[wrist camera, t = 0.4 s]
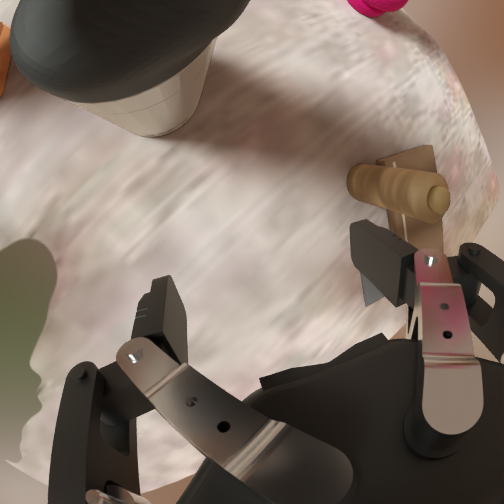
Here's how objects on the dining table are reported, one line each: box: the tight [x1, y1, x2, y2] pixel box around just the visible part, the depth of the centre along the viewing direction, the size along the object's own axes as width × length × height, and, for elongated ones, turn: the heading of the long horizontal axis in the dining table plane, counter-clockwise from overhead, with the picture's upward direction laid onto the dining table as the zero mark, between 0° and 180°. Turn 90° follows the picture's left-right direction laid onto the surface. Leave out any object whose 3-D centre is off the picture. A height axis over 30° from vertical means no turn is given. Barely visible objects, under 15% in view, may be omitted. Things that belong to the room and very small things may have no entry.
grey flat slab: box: [360, 272, 384, 307], centre depth 37 cm, size 7×6×1 cm
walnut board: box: [377, 145, 443, 253], centre depth 34 cm, size 20×10×2 cm, turn 20°
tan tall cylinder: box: [347, 164, 450, 224], centre depth 25 cm, size 5×5×13 cm
